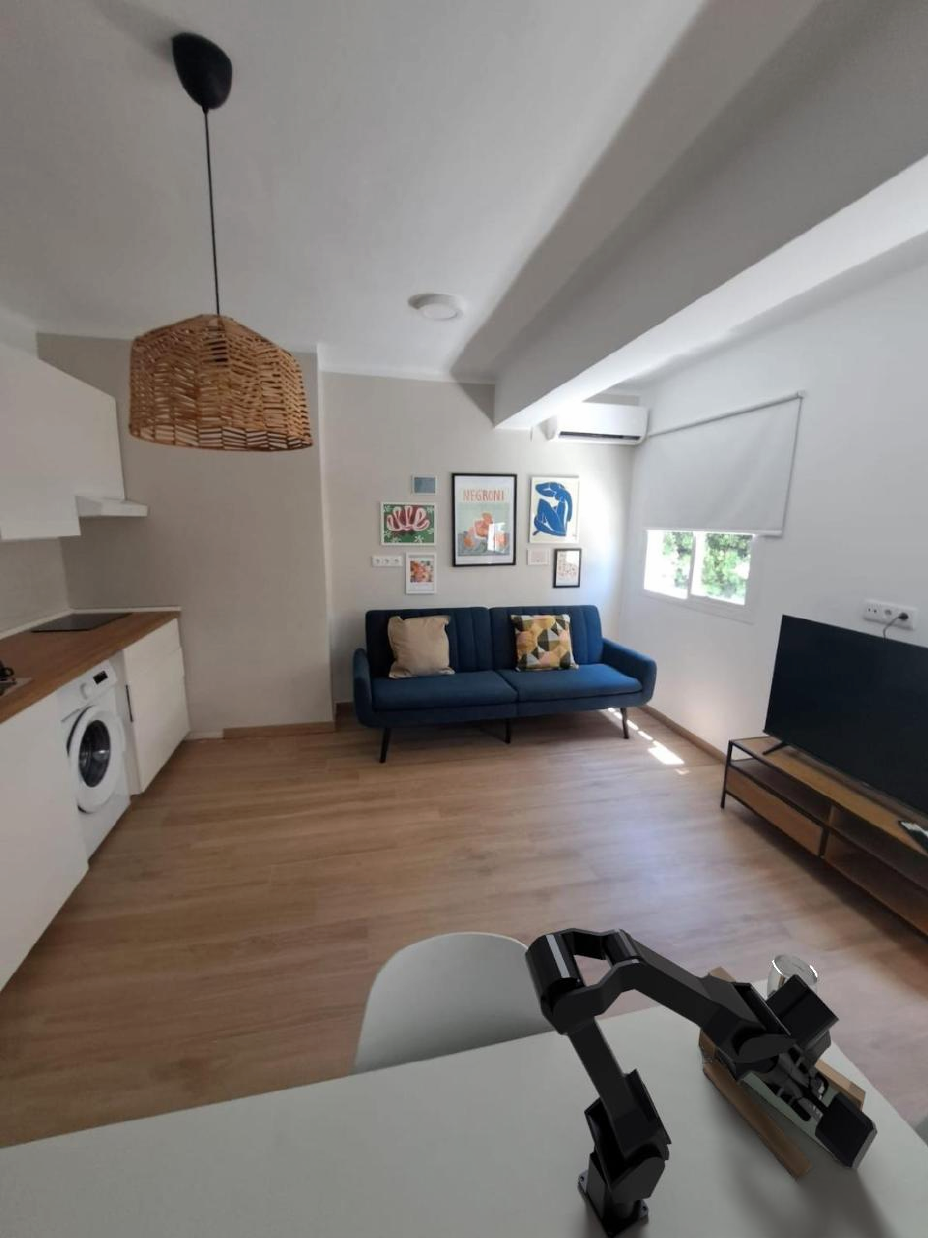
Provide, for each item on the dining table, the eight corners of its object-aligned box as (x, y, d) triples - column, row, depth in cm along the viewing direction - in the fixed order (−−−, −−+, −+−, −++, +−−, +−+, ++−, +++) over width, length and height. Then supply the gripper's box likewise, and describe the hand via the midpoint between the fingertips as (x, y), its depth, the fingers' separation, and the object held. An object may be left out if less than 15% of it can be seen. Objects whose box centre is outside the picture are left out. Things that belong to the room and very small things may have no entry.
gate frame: (797, 1180, 66) (813, 1094, 63) (685, 1050, 82) (695, 978, 80) (824, 1158, 68) (840, 1074, 66) (710, 1036, 85) (720, 966, 82)
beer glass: (792, 1028, 87) (805, 954, 84) (816, 1069, 80) (830, 990, 78) (751, 1023, 87) (763, 949, 85) (772, 1063, 81) (785, 985, 78)
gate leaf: (726, 1068, 79) (735, 1009, 77) (732, 1060, 80) (741, 1002, 79) (848, 1169, 67) (861, 1101, 65) (852, 1158, 68) (865, 1092, 66)
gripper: (882, 1071, 57) (915, 1108, 63) (737, 949, 74) (774, 987, 80) (832, 1159, 55) (870, 1187, 61) (694, 1013, 72) (735, 1047, 78)
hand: (806, 1089), depth 70 cm, fingers closed
